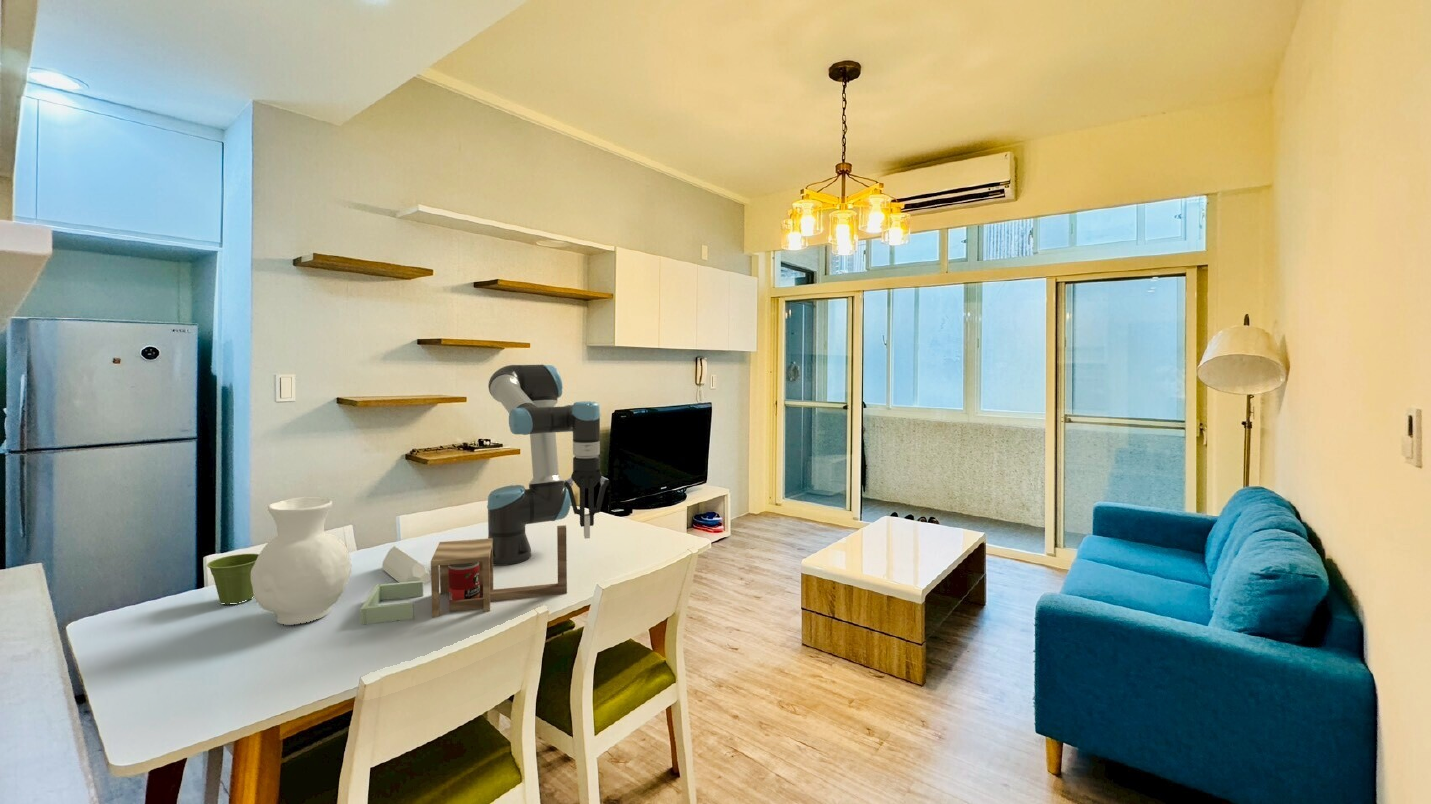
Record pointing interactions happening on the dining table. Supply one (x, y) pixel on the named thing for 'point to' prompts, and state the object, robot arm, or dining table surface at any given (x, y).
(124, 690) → the dining table surface
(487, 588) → the stool
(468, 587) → the canned food
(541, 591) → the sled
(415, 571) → the white faceted bar
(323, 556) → the vase
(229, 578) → the plant pot
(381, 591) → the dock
